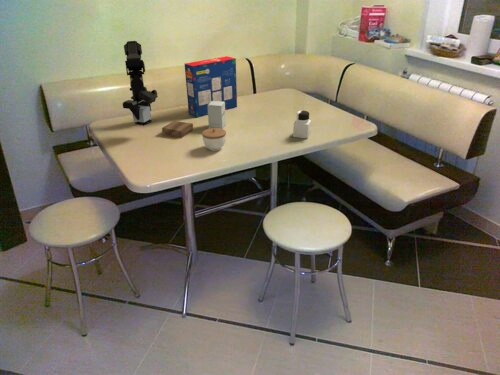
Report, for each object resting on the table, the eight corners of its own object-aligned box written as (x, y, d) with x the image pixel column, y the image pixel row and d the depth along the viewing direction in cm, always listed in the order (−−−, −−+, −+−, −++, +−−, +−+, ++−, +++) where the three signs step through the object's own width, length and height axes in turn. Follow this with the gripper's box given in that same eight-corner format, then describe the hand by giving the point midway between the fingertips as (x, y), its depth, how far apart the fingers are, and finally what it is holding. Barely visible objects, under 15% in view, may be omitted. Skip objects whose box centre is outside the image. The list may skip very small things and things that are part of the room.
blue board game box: (228, 104, 246) (227, 56, 233) (237, 107, 241) (235, 58, 227) (188, 114, 231) (184, 63, 217) (196, 117, 226) (192, 66, 212)
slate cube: (133, 121, 197) (131, 108, 195) (141, 117, 202) (139, 105, 199) (144, 122, 195) (142, 110, 192) (151, 118, 200) (149, 106, 197)
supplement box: (222, 129, 209) (221, 105, 203) (208, 129, 210) (206, 105, 204) (226, 124, 215) (225, 101, 209) (212, 124, 217) (211, 100, 211)
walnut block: (162, 135, 204) (161, 127, 203) (174, 128, 213) (174, 120, 211) (181, 138, 201) (181, 131, 199) (193, 131, 209) (192, 123, 207)
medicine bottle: (310, 133, 203) (312, 110, 197) (307, 138, 197) (308, 114, 192) (296, 132, 205) (297, 108, 200) (292, 137, 199) (293, 113, 194)
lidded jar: (229, 151, 186) (228, 131, 181) (205, 154, 183) (204, 134, 179) (223, 142, 195) (222, 123, 190) (201, 145, 192) (199, 126, 188)
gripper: (140, 92, 181) (144, 126, 188) (163, 82, 196) (167, 113, 203) (119, 90, 184) (124, 123, 192) (143, 80, 199) (148, 111, 207)
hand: (142, 117), depth 198 cm, fingers closed on slate cube, 6 cm apart
